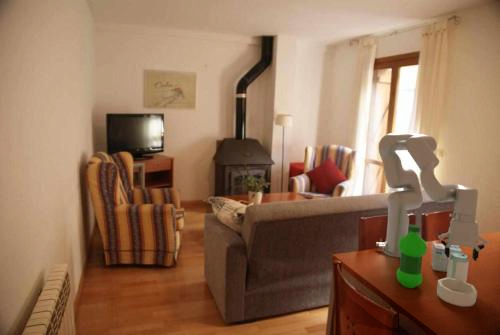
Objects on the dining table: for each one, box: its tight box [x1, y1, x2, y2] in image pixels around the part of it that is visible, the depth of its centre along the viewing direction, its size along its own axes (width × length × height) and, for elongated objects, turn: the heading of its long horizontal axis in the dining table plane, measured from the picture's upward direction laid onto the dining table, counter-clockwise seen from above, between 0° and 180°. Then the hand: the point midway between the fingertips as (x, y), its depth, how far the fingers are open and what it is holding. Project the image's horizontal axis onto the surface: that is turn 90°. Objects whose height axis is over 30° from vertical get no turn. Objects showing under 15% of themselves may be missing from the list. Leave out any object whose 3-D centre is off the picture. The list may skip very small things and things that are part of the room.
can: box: [446, 252, 470, 282], centre depth 141 cm, size 7×7×12 cm
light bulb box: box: [430, 242, 463, 273], centre depth 153 cm, size 11×7×11 cm, turn 71°
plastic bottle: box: [396, 223, 428, 289], centre depth 137 cm, size 10×10×25 cm
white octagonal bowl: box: [436, 277, 478, 308], centre depth 129 cm, size 12×12×5 cm
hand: (460, 257), depth 139 cm, fingers open, 9 cm apart
